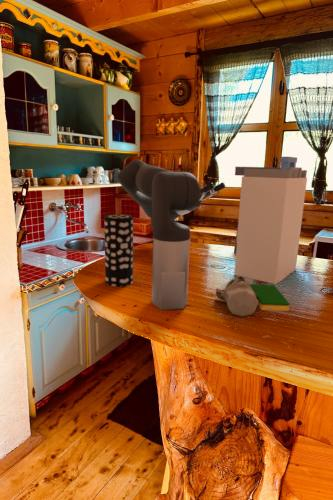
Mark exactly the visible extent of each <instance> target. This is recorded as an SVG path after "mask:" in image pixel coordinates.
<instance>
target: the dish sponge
mask: <svg viewBox="0 0 333 500" xmlns="http://www.w3.org/2000/svg"><path fill="white" fill-rule="evenodd" d="M249 284H250V283H249ZM250 286H251V288H252V289H253V291H254V293H255V292H256V293H257V296H256V298H257V300H258V305H257V307H259V310H261V311H274V312H275V311H279V312H280V311H281V312H284V311H285V312H289V310H290V302H289V301H288V300H287V299H286V297H285V296H284V295H283V294H282V293H281V292H280V290H279V289H278V288H277V287H276V285H275V284H253V283H251V284H250Z"/></svg>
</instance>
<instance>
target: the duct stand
mask: <svg viewBox="0 0 333 500" xmlns="http://www.w3.org/2000/svg"><path fill="white" fill-rule="evenodd" d="M279 162H280V167H279V168H280V170H277V169H244V176H241V187H240V195H239V197H240V199H239V211H238V212H239V213H238V214H239V215H238V223H237V228H238V234H237V233H236V234H237V247H236V254H235V260H234V262H235V263H234V273H233V274H234V275H235V276H238V277H243V278H246V279H252V280H255V281H260V282H264V283H268V284H272V285H277V284H278V283H280V282H281V281H282V280H284V279H285V278H286V277H288V276H289V275H290V273H291V274H292V273H294V272H295V271H296V269H297V261H298V255H299V253H298V252H299V246H300V240H301V239H300V238H301V229H302V223H303V214H304V206H305V200H306V199H305V198H306V189H307V188H306V187H307V182H308V177H307V174H308V171H307V170H308V169H307V170H306V169H305V170H304V169H302V171H301V170H289V168H290V167H296V166H297V162H298V157H294V156H293V157H292V156H280V161H279ZM294 270H295V271H294Z"/></svg>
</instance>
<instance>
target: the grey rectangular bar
mask: <svg viewBox="0 0 333 500" xmlns="http://www.w3.org/2000/svg"><path fill="white" fill-rule="evenodd" d="M234 168H235V169H234V175H235V176H241V177H244V169H277V170H280V168H281V167H267V166H265V167H264V166H263V167H262V166H235V167H234ZM289 170H301V171H302V170H303V167H299V166H297V167H290V168H289Z"/></svg>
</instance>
